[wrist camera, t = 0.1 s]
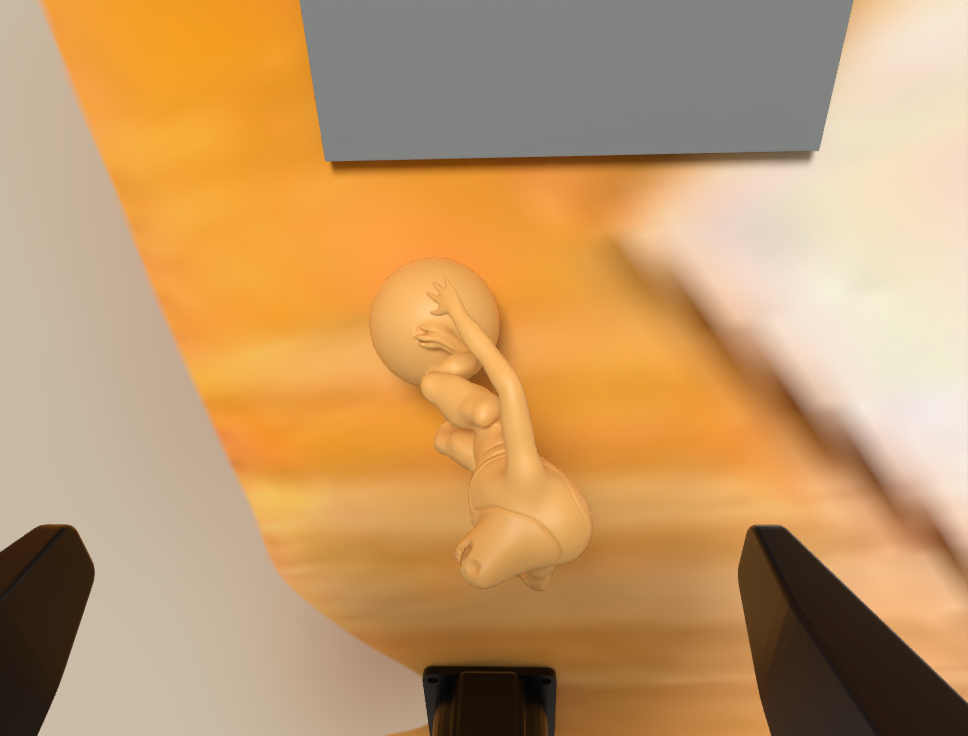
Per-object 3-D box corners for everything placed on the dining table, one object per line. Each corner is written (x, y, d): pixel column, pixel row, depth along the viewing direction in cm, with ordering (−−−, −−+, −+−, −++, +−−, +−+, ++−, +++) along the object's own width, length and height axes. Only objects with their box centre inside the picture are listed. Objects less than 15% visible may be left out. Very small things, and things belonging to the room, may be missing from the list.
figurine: (351, 177, 22) (221, 437, 12) (552, 152, 21) (585, 405, 12) (406, 397, 27) (344, 713, 17) (571, 381, 26) (608, 700, 16)
